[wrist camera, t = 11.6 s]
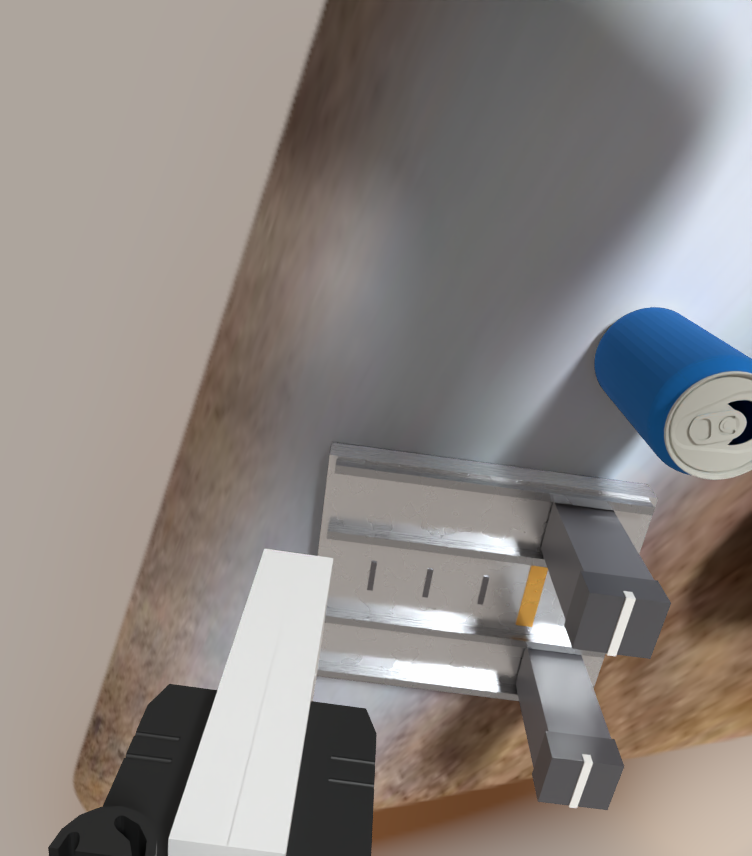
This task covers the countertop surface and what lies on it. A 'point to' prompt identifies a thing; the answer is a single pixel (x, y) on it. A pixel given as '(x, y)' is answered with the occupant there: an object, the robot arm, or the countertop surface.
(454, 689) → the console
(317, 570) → the robot arm
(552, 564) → the fader near
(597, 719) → the fader far
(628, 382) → the beverage can
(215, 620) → the countertop surface
